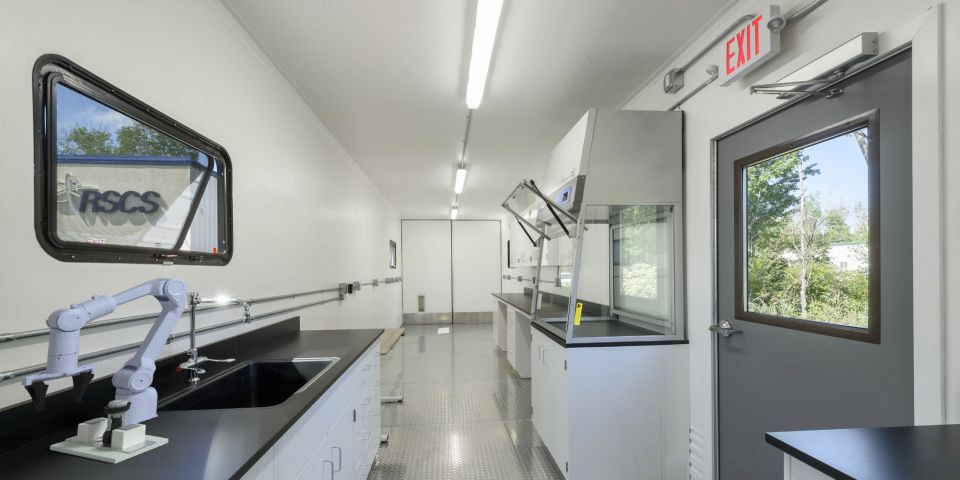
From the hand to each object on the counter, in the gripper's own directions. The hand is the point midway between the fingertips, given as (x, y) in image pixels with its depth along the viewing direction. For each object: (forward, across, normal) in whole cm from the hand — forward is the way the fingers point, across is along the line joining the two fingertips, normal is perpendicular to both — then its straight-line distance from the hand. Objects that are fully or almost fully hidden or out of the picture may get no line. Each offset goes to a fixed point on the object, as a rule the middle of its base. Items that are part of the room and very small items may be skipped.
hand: (58, 406), depth 105 cm
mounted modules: (+8, +3, -16) cm, 18 cm away
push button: (+8, +3, -17) cm, 19 cm away
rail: (+9, +3, -16) cm, 19 cm away
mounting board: (+9, +3, -16) cm, 19 cm away
